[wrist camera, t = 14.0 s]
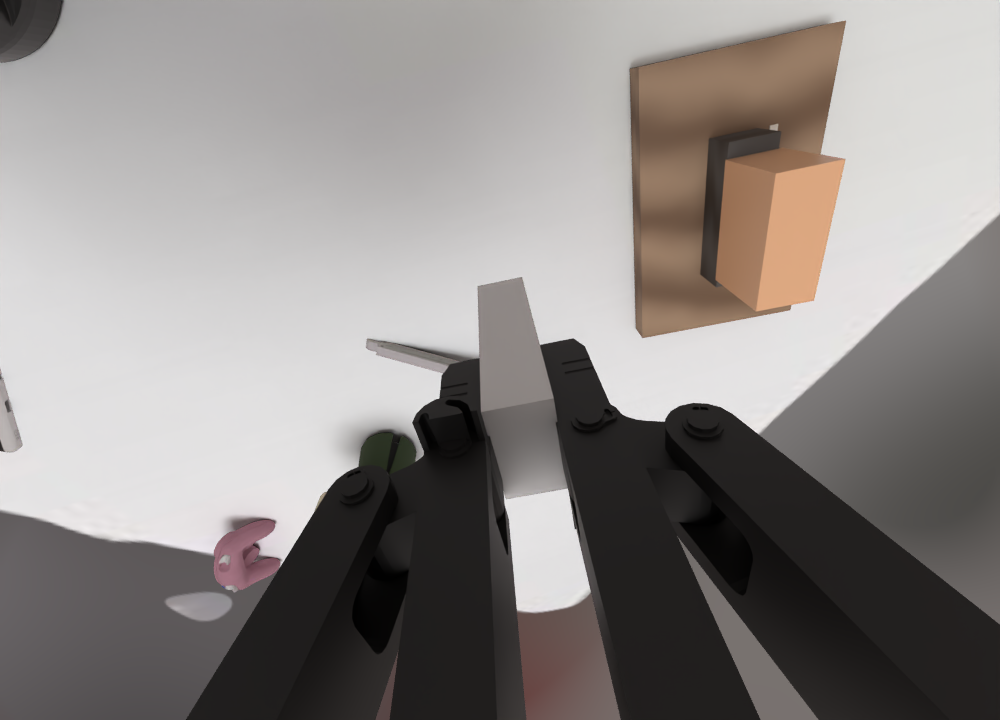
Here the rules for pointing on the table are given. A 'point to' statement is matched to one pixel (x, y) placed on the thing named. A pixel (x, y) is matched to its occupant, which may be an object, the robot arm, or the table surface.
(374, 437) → the character mug
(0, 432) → the smartphone
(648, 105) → the board
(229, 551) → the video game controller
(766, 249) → the block
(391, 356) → the caliper
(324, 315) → the table surface
